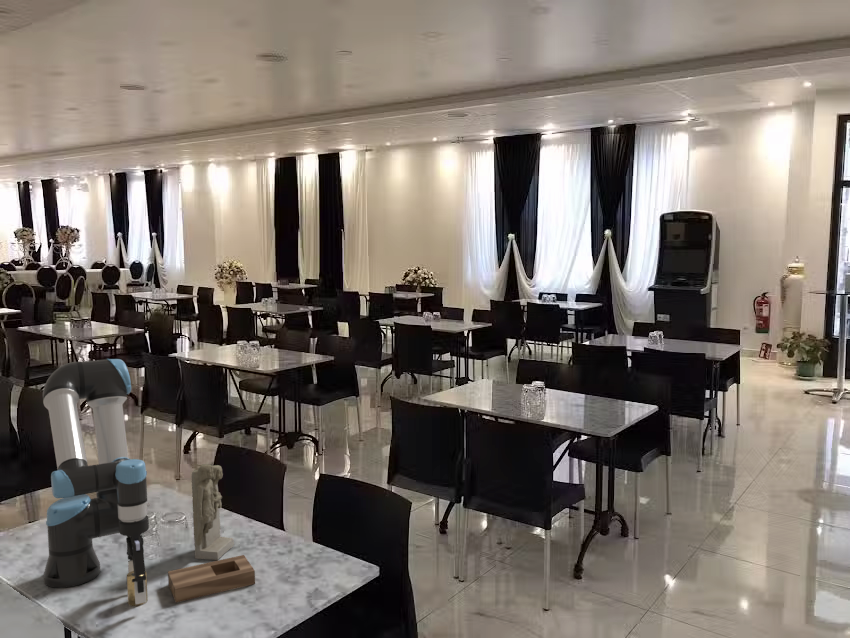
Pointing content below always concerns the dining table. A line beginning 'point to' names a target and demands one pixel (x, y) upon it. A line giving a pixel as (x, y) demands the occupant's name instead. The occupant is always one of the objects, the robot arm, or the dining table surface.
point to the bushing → (133, 589)
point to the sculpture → (208, 514)
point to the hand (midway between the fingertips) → (137, 592)
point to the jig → (210, 578)
